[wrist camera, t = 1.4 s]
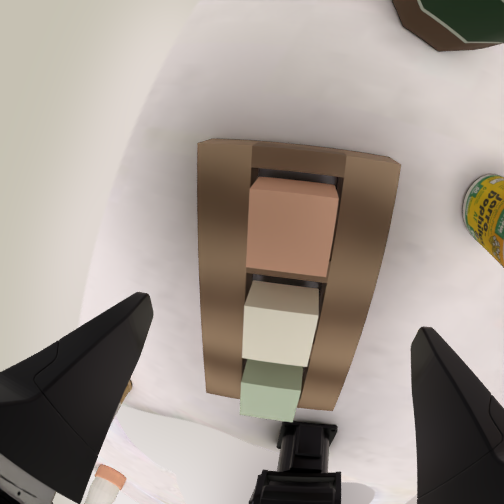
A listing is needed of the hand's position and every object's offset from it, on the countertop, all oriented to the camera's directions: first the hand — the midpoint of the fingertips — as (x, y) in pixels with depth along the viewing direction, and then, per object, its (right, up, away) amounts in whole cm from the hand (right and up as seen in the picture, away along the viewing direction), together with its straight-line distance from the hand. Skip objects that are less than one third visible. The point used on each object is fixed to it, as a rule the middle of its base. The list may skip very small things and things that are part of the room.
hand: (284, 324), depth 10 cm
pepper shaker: (-35, -51, +47) cm, 77 cm away
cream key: (+1, -2, +12) cm, 12 cm away
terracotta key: (+1, +4, +9) cm, 10 cm away
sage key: (+1, -8, +15) cm, 17 cm away
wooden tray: (+2, -1, +15) cm, 15 cm away
